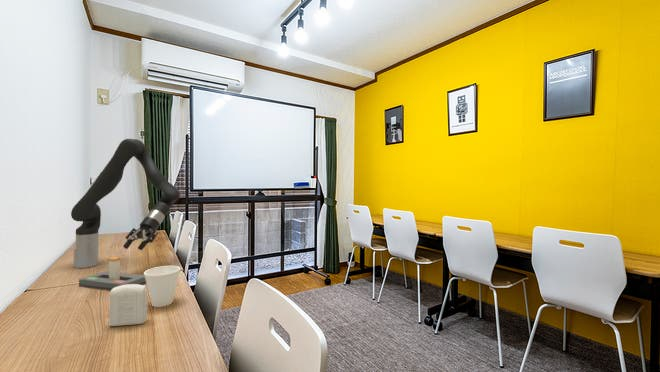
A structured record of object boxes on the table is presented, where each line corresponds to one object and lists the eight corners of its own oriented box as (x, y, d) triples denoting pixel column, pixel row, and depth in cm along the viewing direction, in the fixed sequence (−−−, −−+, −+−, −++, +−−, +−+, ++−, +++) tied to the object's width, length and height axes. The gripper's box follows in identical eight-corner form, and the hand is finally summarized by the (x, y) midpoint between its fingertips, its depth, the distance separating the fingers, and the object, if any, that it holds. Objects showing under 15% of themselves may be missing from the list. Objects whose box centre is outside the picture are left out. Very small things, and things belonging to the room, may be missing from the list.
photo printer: (149, 318, 96) (149, 281, 96) (144, 324, 92) (144, 285, 92) (114, 321, 94) (113, 283, 94) (107, 328, 90) (106, 288, 90)
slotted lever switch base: (79, 286, 125) (79, 278, 124) (106, 277, 136) (106, 270, 136) (123, 292, 118) (123, 284, 118) (148, 282, 130) (148, 275, 130)
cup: (160, 312, 101) (160, 276, 100) (135, 307, 104) (135, 273, 104) (187, 299, 112) (187, 267, 112) (164, 295, 116) (164, 264, 115)
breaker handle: (108, 281, 126) (108, 258, 126) (114, 280, 129) (114, 257, 129) (114, 282, 126) (114, 259, 125) (119, 280, 128) (119, 257, 128)
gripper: (136, 215, 145) (114, 243, 134) (160, 216, 142) (139, 245, 131) (145, 224, 151) (125, 251, 140) (168, 225, 147) (149, 253, 136)
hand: (132, 248), depth 135 cm, fingers open, 8 cm apart
